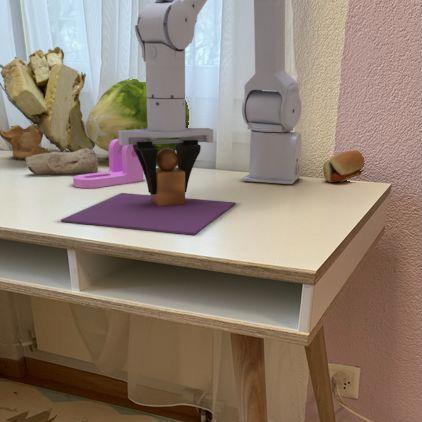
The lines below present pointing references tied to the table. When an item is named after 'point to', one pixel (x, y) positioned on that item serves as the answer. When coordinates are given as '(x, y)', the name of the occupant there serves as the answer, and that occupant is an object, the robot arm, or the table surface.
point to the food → (343, 166)
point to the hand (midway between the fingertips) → (167, 192)
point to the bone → (24, 141)
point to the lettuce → (122, 114)
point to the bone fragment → (63, 162)
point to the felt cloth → (151, 214)
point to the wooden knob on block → (168, 180)
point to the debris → (49, 97)
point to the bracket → (114, 169)
